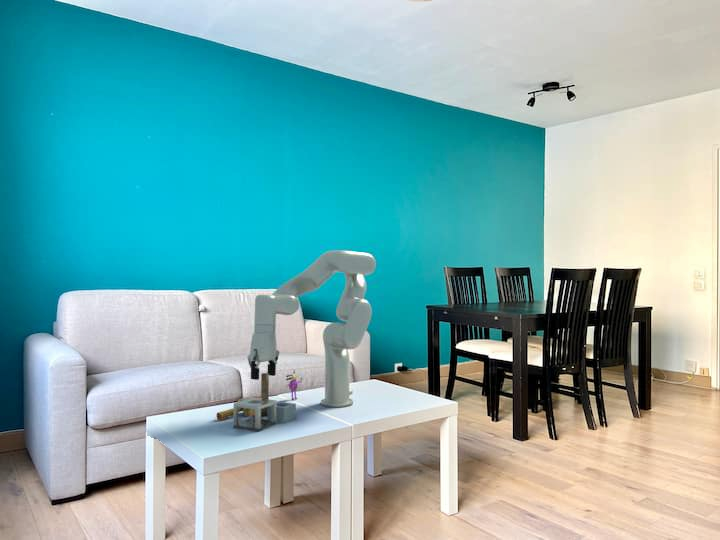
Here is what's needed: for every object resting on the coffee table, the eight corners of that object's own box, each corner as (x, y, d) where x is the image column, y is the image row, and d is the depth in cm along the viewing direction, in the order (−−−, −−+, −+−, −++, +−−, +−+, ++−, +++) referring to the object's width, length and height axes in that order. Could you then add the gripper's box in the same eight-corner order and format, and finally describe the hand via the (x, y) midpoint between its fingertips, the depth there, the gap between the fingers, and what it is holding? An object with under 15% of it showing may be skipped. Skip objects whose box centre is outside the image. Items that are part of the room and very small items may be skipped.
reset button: (254, 414, 179) (254, 408, 179) (263, 416, 178) (263, 410, 178) (246, 417, 176) (246, 411, 176) (256, 419, 174) (256, 412, 174)
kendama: (227, 427, 180) (269, 410, 194) (223, 408, 181) (265, 393, 194) (215, 427, 186) (257, 410, 199) (211, 409, 186) (253, 393, 199)
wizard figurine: (288, 402, 209) (288, 372, 210) (281, 401, 211) (281, 371, 211) (304, 397, 219) (304, 368, 220) (298, 396, 221) (298, 367, 221)
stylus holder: (279, 415, 190) (279, 401, 190) (295, 418, 187) (295, 403, 187) (267, 420, 184) (267, 405, 184) (284, 422, 181) (284, 408, 181)
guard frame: (252, 420, 183) (252, 397, 183) (276, 424, 179) (276, 400, 179) (233, 427, 174) (233, 403, 175) (258, 431, 170) (258, 406, 170)
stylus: (263, 414, 191) (264, 372, 192) (269, 415, 190) (270, 373, 190) (259, 416, 189) (259, 374, 189) (265, 417, 188) (265, 374, 188)
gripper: (270, 327, 199) (269, 373, 199) (240, 330, 184) (239, 379, 183) (287, 328, 196) (285, 375, 196) (258, 331, 181) (256, 382, 180)
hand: (263, 377), depth 189 cm, fingers open, 9 cm apart
